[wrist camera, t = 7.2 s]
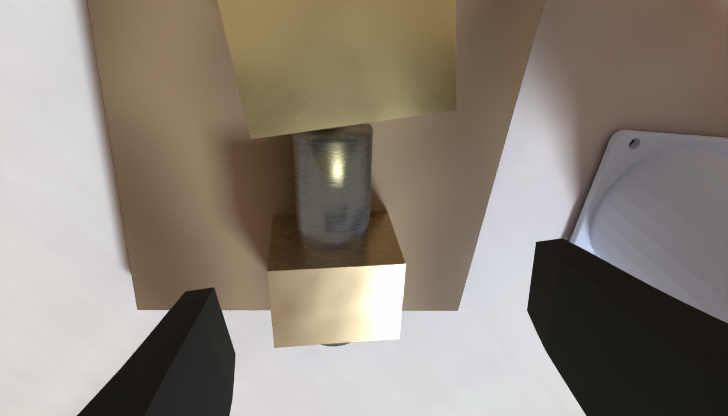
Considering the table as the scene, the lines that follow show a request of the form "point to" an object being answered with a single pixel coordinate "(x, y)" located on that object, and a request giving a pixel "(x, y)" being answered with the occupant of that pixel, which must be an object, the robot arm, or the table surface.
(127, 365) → the robot arm
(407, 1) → the tan wooden block
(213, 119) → the board
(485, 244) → the table surface
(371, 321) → the shaft
